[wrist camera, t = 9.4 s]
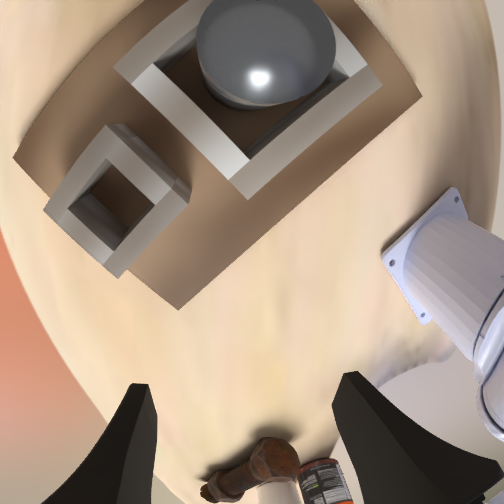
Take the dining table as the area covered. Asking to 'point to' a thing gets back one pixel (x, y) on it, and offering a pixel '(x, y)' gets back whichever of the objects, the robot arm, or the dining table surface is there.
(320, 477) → the supplement bottle
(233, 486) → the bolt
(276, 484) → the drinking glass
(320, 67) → the gray metal cylinder
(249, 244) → the fitting board
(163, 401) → the dining table surface
